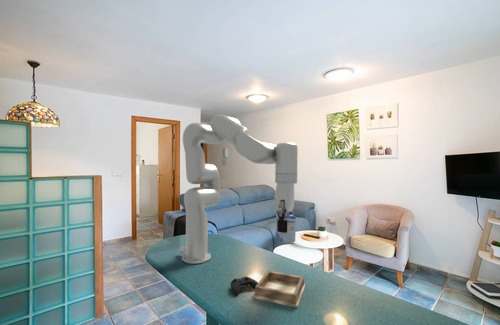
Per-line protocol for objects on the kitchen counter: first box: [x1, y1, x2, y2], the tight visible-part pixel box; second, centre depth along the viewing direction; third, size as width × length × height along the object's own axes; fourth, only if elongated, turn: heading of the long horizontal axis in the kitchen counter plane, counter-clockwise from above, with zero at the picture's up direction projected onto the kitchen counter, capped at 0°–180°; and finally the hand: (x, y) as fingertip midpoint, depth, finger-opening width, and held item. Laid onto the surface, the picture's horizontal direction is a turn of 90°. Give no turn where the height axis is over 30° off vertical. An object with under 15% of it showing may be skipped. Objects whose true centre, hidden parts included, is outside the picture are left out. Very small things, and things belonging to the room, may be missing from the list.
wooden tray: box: [252, 270, 306, 309], centre depth 80 cm, size 14×14×3 cm
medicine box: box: [275, 212, 297, 243], centre depth 84 cm, size 8×4×9 cm, turn 12°
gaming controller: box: [230, 276, 259, 297], centre depth 82 cm, size 10×5×6 cm
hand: (285, 228), depth 84 cm, fingers closed on medicine box, 9 cm apart
